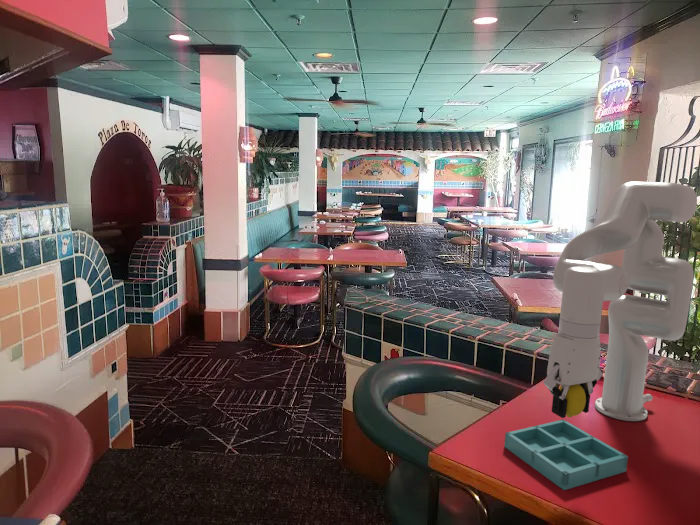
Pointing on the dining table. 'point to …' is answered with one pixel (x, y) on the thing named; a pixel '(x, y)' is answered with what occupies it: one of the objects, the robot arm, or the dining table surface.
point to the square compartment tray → (565, 453)
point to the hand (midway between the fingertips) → (569, 411)
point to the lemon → (575, 400)
